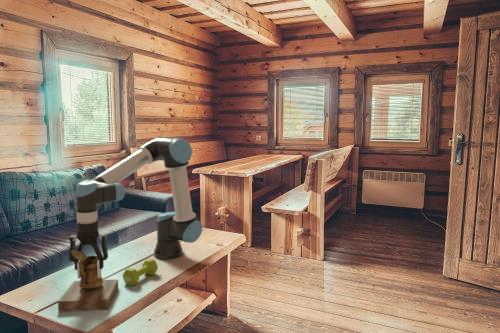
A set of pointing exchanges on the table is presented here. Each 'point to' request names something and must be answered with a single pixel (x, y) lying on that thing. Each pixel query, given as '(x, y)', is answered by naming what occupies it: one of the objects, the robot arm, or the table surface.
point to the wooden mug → (88, 270)
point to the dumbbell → (140, 272)
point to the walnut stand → (88, 297)
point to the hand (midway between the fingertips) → (89, 276)
